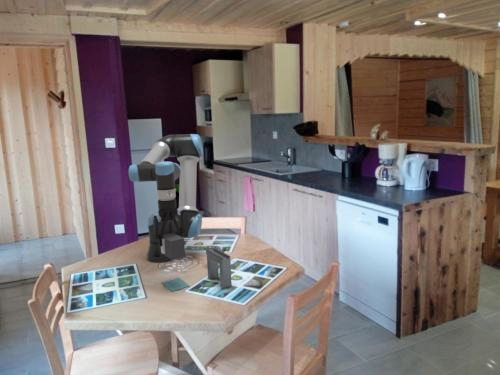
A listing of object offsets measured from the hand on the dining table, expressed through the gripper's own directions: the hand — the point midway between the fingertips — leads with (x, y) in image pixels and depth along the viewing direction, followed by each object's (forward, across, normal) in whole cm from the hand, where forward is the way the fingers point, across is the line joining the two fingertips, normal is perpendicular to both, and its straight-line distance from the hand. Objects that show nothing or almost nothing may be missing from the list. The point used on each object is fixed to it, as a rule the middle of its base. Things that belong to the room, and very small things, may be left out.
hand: (170, 251), depth 177 cm
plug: (+1, 0, -3) cm, 3 cm away
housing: (+15, +17, -12) cm, 25 cm away
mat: (+15, 0, -3) cm, 15 cm away
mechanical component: (+15, +24, +4) cm, 29 cm away
